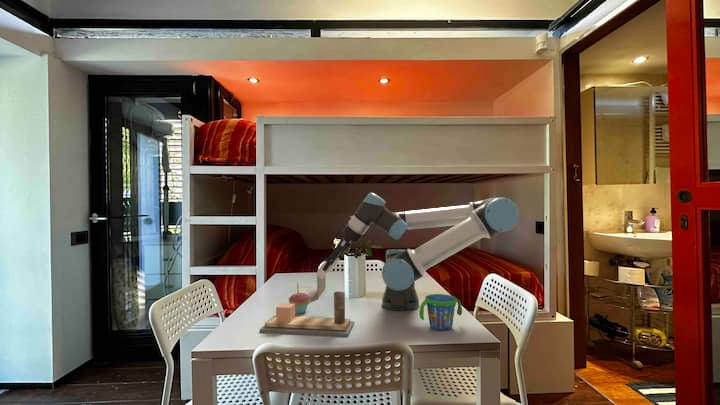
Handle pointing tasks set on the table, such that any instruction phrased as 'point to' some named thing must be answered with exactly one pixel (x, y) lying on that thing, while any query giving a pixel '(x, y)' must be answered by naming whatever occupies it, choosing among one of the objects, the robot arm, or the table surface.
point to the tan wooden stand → (318, 318)
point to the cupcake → (299, 301)
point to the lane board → (308, 331)
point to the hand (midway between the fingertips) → (323, 273)
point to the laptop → (315, 292)
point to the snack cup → (440, 310)
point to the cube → (285, 312)
